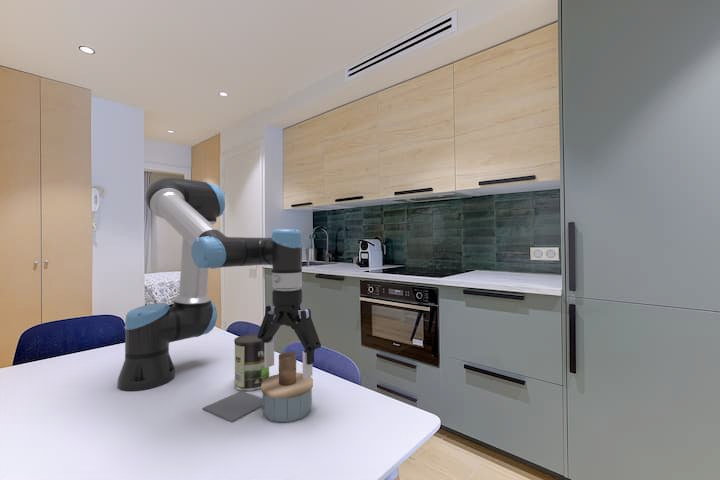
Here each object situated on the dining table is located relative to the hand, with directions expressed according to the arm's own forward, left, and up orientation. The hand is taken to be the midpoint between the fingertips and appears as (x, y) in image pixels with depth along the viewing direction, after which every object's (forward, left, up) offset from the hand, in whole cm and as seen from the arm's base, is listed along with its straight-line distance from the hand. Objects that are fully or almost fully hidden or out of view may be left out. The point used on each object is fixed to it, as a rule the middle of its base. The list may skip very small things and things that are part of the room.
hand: (287, 371), depth 86 cm
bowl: (0, 0, -10) cm, 10 cm away
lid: (0, 0, -4) cm, 4 cm away
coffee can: (-21, +6, -10) cm, 24 cm away
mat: (-13, -5, -10) cm, 17 cm away
